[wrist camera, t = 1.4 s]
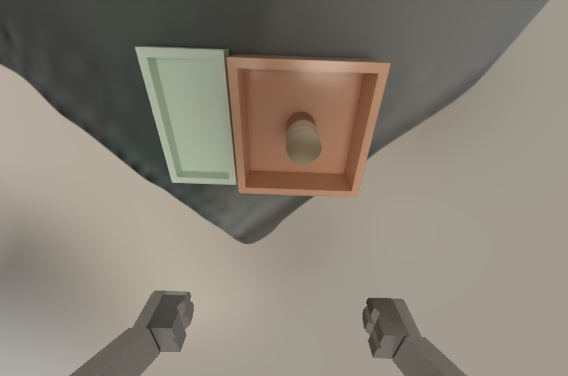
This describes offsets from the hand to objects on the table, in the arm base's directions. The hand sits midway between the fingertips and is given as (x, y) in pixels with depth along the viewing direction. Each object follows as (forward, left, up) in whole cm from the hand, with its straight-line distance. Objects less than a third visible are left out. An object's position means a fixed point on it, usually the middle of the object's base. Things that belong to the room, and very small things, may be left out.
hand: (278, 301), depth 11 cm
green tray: (0, -12, -27) cm, 30 cm away
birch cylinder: (0, +2, -26) cm, 26 cm away
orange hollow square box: (0, +2, -27) cm, 27 cm away
